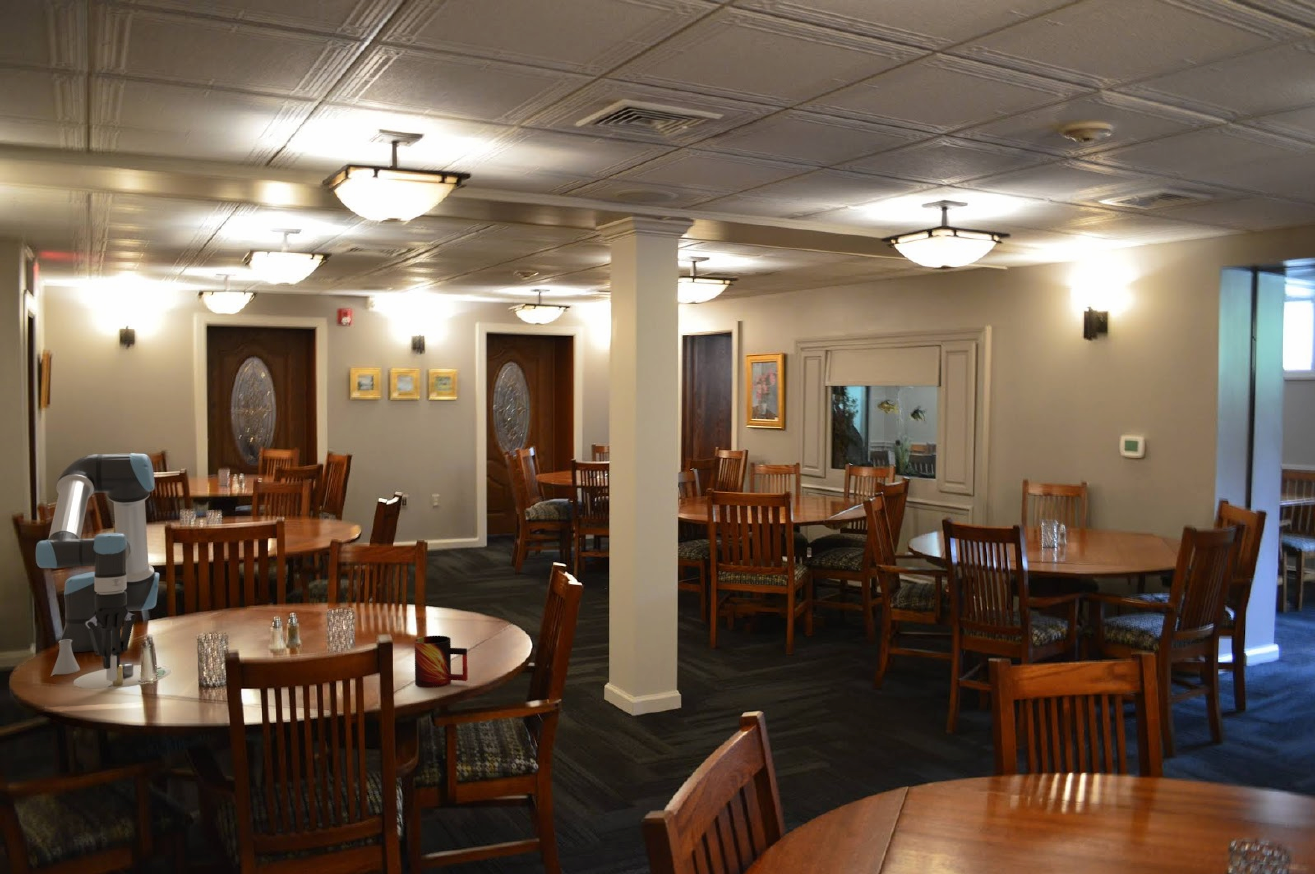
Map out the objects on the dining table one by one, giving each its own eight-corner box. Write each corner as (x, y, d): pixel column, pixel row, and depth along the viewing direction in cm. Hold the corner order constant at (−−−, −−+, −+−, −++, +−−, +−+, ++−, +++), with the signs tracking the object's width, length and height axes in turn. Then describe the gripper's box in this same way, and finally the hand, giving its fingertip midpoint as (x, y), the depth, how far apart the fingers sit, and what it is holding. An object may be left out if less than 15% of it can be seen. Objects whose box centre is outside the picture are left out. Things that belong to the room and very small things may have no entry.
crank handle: (114, 673, 280) (114, 655, 279) (134, 672, 281) (134, 653, 281) (106, 686, 267) (106, 667, 267) (127, 684, 269) (127, 665, 268)
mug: (467, 685, 273) (467, 641, 272) (415, 689, 269) (415, 644, 269) (465, 675, 282) (464, 633, 282) (414, 679, 278) (414, 636, 278)
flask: (67, 679, 280) (66, 644, 279) (45, 678, 281) (44, 642, 281) (87, 672, 287) (86, 638, 286) (65, 671, 288) (64, 636, 288)
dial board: (93, 671, 288) (93, 666, 288) (182, 667, 292) (182, 662, 292) (58, 695, 264) (58, 690, 264) (155, 690, 268) (155, 685, 268)
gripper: (92, 596, 259) (93, 687, 259) (142, 589, 269) (143, 676, 270) (78, 593, 263) (79, 682, 264) (128, 586, 274) (129, 672, 274)
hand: (111, 679), depth 267 cm, fingers closed
